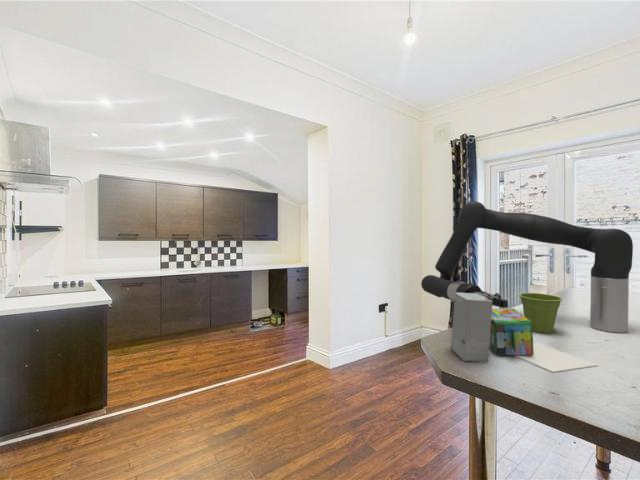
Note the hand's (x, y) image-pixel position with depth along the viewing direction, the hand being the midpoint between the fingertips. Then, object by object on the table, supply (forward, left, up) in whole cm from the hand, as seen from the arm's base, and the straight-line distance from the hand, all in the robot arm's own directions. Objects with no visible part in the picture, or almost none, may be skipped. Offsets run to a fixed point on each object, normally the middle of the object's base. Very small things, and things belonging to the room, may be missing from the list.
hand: (505, 304), depth 91 cm
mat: (+8, +8, -11) cm, 16 cm away
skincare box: (+17, -8, -11) cm, 22 cm away
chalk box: (+2, -2, -5) cm, 6 cm away
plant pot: (-18, +10, -11) cm, 23 cm away
